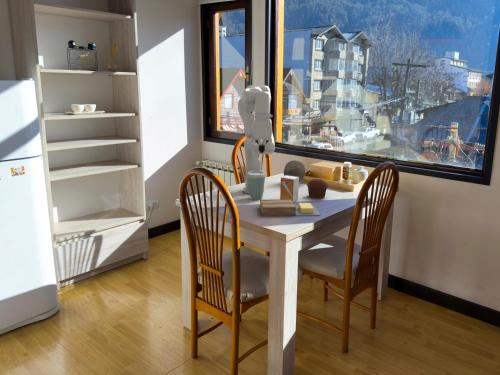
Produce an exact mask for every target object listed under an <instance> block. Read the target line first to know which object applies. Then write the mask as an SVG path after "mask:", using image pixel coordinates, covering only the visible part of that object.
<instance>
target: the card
mask: <svg viewBox="0 0 500 375" xmlns="http://www.w3.org/2000/svg"><path fill="white" fill-rule="evenodd" d="M298 205H299V206H298V208H299V210H300V212H301V213H313V212H314V208H313V206H312V205H313V204H311V202H299V203H298Z"/></svg>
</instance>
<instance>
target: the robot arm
mask: <svg viewBox="0 0 500 375" xmlns="http://www.w3.org/2000/svg"><path fill="white" fill-rule="evenodd" d="M271 101H272V96H271V90H270V87H269V86H267V85H265V84H251V85H248V86H246V87H245V89H243V91H242V94H241V98H240V99H239V100H238V102H237V110H238V114H239V116H240V119H241V120H242V122H243V130H244V135H245V138H246V139H245V140H244V142H243V144H244V145H243V146H244V148H243V149H244V155H245V186H244V188H243V189H242V192H243V194H248V195H250V193H249V186H248V180H247V177H246V175H247V173H248V172H249V171H253V170H259V171H263V162H262V158H260V157H259V155H272V154H273V153H274V152H275V150H276V144H275V143H276V142H275V138H274V134H273V126H272V119H271V118H273V114H271ZM252 112H254V113H252ZM263 193H265V188H264V189H263Z"/></svg>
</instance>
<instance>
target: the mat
mask: <svg viewBox="0 0 500 375" xmlns="http://www.w3.org/2000/svg"><path fill="white" fill-rule="evenodd" d="M294 205H295V207H296V215H295V216H296V217H297V216H298V217H303V216H304V217H306V216H319V217H320V216H321V213H320V212H319V211H318V209H317V208H316V207H315V205H313V204H311V205H312V206H313V208H314V212H313V213H301V212H300V210H299V208H298V206H299V204H298V205H296V204H294Z"/></svg>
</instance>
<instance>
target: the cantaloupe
mask: <svg viewBox="0 0 500 375" xmlns="http://www.w3.org/2000/svg"><path fill="white" fill-rule="evenodd" d="M286 175H287V176H294V177H299V183H300V182H302V181H303V180H304V179H305V177H306V167H305V164H304V163H303V162H301V161H300V160H299V161H298V160H290V161H289V162H286V164H285V166H284V169H283V176H286Z"/></svg>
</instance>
